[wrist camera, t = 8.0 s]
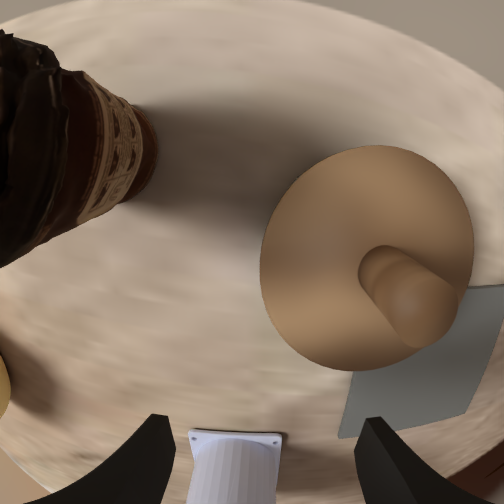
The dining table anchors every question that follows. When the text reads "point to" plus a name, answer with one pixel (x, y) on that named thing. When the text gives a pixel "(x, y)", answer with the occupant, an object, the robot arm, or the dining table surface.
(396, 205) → the lid
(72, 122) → the coffee cup
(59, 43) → the dining table surface
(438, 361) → the plate
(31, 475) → the dining table surface
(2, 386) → the sculpture
